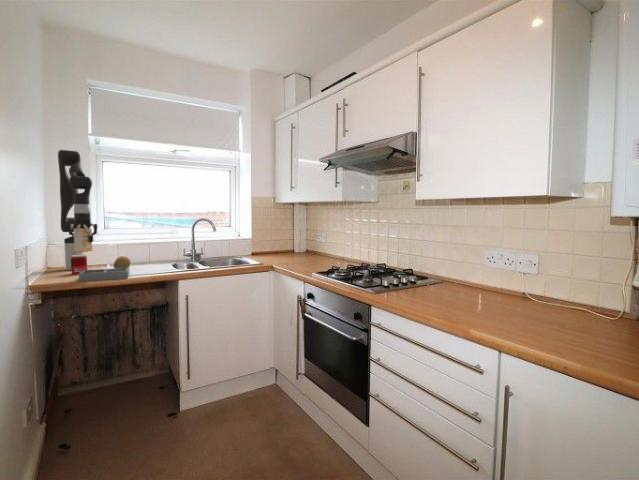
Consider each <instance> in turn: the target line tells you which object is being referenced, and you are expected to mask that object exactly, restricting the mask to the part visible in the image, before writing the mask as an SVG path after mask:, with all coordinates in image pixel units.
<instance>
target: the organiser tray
mask: <svg viewBox="0 0 639 480" xmlns="http://www.w3.org/2000/svg"><path fill="white" fill-rule="evenodd" d="M128 276H130V267H129V268H101V269H99V268H98V269H87V270H83V271H82V272H80V273H79V274H78V282H86V281H103V280H115V279H116V280H118V279H119V278H122V279H128V278H129V277H128Z"/></svg>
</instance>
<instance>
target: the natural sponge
mask: <svg viewBox="0 0 639 480" xmlns="http://www.w3.org/2000/svg"><path fill="white" fill-rule="evenodd" d="M130 266H131V260H130V258H128V257H127V256H119V257H117V258H116V259H115V261H114V263H113V269H115V268H129V269H130Z"/></svg>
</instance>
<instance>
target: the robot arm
mask: <svg viewBox="0 0 639 480" xmlns="http://www.w3.org/2000/svg"><path fill="white" fill-rule="evenodd" d="M57 160H58V171H59V198H60V230H61V231H62V232H63V233H68V234H69V236H68V237H66V238H64V239H63V240H64V241H63V242H64V245H63V246H64V258H65V259H64V261H65V262H64V264H65V270H66V271H71V256H72V255H83V252H75V247H74V229H80V228H85V229H86V230H87V232H88V233H89V235H90V243H91V242H92V243H93V241H94V236H96V235H97V234H98V224H97V223H92V219H91V205H90V194H91V190H92V186H93V180H92V178H91V177H89V176H86V174H85V172H84V168H83V161H82V156H81V154H80V152H78V151H76V150H69V149H68V150H66V149H59V150H58V152H57ZM66 167H69V170H68V171H67V168H66ZM79 190H84V191H83V192H79ZM72 207H73V217H68V215H69V212H70V211H71V209H72ZM91 227H92V228H93V231H92V232H91V230H89V228H91Z"/></svg>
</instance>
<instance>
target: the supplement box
mask: <svg viewBox="0 0 639 480" xmlns="http://www.w3.org/2000/svg"><path fill="white" fill-rule="evenodd" d="M92 228H93V227H92ZM92 228H91V227H90V228H89V230H91V232H92V233H93V231H92ZM73 233H74V247H75V252H82V253H87V252H92V251H93V241H92V242H91V243H90V235H89V233H88V232H87V230H86V229H85V228H80V229H74V232H73Z"/></svg>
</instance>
